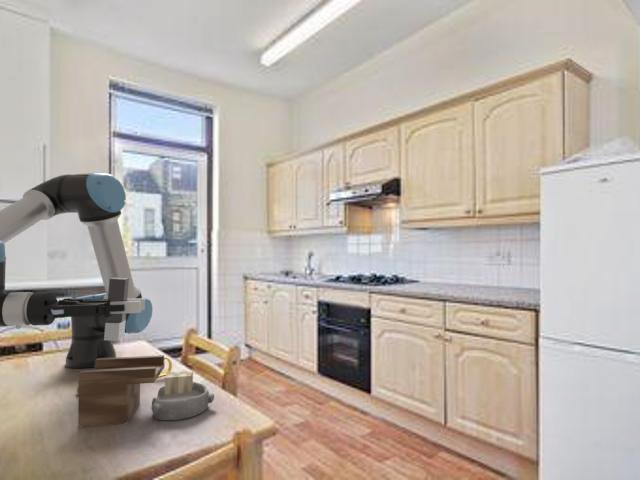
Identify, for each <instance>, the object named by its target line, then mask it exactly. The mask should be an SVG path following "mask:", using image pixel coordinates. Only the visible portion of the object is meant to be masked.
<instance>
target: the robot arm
mask: <svg viewBox="0 0 640 480" xmlns="http://www.w3.org/2000/svg"><path fill="white" fill-rule="evenodd" d="M126 197H127V195H126V192H125V188H124V186H123V184H122V183H121V181H120V180H119V179H118V178H116V177H115V176H114V175H113V174H109V173H100V172H99V173H98V172H92V173H73V174H62V175H58V176H55V177H52V178H50V179H48V180H46V181H43V182H41V183H40V184H38V185H36V186H34V187H32V188H30V189H29V190H26V191H25V192H24V193H23V195H22V198H20V199H19V200H16V201H15V202H13V203H12V204H9V205H8V206H5V207H4V208H2V209H1V210H0V327H1V328H2V327H14V326H15V329H17V330H19V329H21V327H23V326H31V325H32V326H49V325H52V324H53V322H54V321H55V319H62V318H64V319H65V318H71V320H70V321H71V342H70V343H71V344H70V346H69V349H68V352H67V355H66V357H65V366H66V367H67V368H71V369H86V368H87V369H88V368H95V360H96V359H97V358H116V357H117V353H116V348H115V346H114V343H113V342H112V341H109V340H104V334H105V323H106V317H109V312H110V314H122V313H126V322H125V334H128V335H129V334H138V333H142V332H143V331H144V330H145V329H147V327H148V326H149V324H150V323H151V319H152V317H153V316H152V315H153V304H152V302H151V300H149V298H147V297H143V296H142V292H141V290H140V288H138V287H136V286H135V284H134V280H133V276H132V272H131V268H130V265H129V261H128V256H127V252H126V248H125V243H124V241H123V237H122V233H121V228H120V226H119V221H118V219H119V218H120V217H121V215H122V210H123V208H124V206H125V205H126V200H127V199H126ZM68 213H70V214H71V213H77V215H78V220H79V221H80V223H82V224H84V225H86V226H87V230H88V233H89V237H90V240H91V243H92V248H93V251H94V255H95V259H96V263H97V266H98V268H99V272H100V277H101V280H102V283H103V287H104V290H105V292H104V293H98V294H97V293H95V294H90V295H83V296H78V297H75V298H69V297H68V298H67V297H65V298H62V299H59V300H58V299H57V296H56V294H55V293H54V292H52V291H36V292H33V291H32V292H31V291H25V292H24V291H20V292H19V291H18V292H6V267H7V265H6V262H7V261H6V260H7V257H6V245H5V243H7V242H9V241H10V240H12V239H13V238H15V237H17V236H19V235H20V234H21V233H23V232H25V231H26V230H28V229H29V228H31V227H32V226H34V225H36V224H38V223H39V222H40V221H42V220H45V221H47V220H50V219H52V218H53V217H56V216H58V215H62V214H68ZM114 277H115V278H129V285H128V296H127V301H118V302H110V305H109V303H108V292H109V280H110V278H114Z"/></svg>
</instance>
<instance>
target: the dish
mask: <svg viewBox="0 0 640 480" xmlns="http://www.w3.org/2000/svg"><path fill="white" fill-rule="evenodd" d="M151 400H152V401H151V412H152V415H153V417H154V418H155V419H157V420H161V421H179V420H184V419H190V418H191V417H192V418H193V417H195V416H197V415H199V414H201V413H203V412H204V411H206V409H208V406H209V404H212V403H213V402H214V400H215V394H214V393H213V392H211V393H210V391H209V389H208V388H207V386H206V385H205V384H203V383H201V382H197V381H193V388H192V391H191V393H178V394H165V385H163V386H161V387H159V390H158V392H157V396H156V397H153V398H152V399H151Z"/></svg>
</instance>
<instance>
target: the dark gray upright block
mask: <svg viewBox="0 0 640 480" xmlns="http://www.w3.org/2000/svg"><path fill="white" fill-rule="evenodd" d="M128 285H129V278H115V277H114V278H110V280H109V292H108V303H109V305H110V302H118V301H127V296H128ZM125 322H126V313H122V314H110V312H109V317H106V323H105V334H104V340H109V341H114V342H115V341H117V342H119V341H120V339H122V338H124V336H125V334H126V333H125Z"/></svg>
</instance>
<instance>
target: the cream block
mask: <svg viewBox="0 0 640 480" xmlns="http://www.w3.org/2000/svg"><path fill="white" fill-rule="evenodd" d="M180 372H181V371H170V372H168V373H167V374H166V376H164V386H165V394H178V376H179V373H180Z"/></svg>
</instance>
